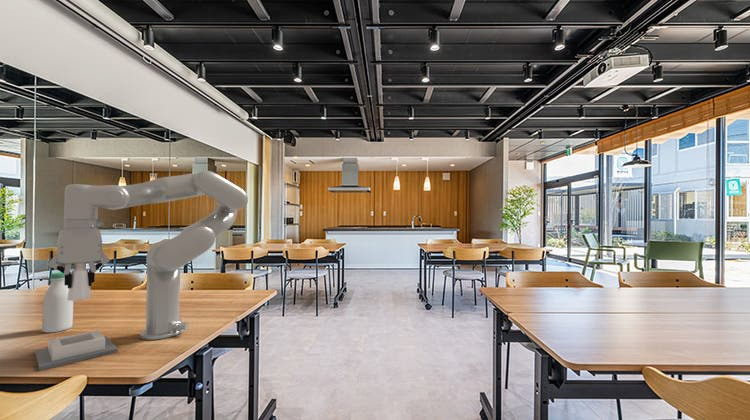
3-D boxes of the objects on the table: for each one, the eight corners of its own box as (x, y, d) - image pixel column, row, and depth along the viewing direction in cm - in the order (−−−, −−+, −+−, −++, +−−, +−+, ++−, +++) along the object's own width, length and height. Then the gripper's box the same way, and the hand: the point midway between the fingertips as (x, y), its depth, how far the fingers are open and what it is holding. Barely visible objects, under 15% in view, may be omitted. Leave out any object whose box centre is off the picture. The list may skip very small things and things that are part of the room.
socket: (106, 338, 106) (106, 326, 106) (117, 351, 95) (118, 338, 95) (35, 354, 93) (35, 340, 94) (39, 370, 83) (40, 355, 83)
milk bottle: (77, 327, 117) (79, 271, 118) (50, 334, 110) (52, 275, 110) (64, 325, 119) (66, 270, 120) (36, 331, 112) (38, 274, 113)
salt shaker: (75, 296, 99) (76, 260, 99) (95, 296, 100) (96, 260, 100) (61, 301, 94) (62, 263, 94) (83, 300, 95) (84, 262, 95)
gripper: (114, 224, 106) (113, 281, 106) (41, 225, 94) (39, 289, 94) (118, 225, 101) (117, 284, 100) (41, 226, 89) (39, 293, 88)
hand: (79, 285), depth 97 cm, fingers closed on salt shaker, 3 cm apart
